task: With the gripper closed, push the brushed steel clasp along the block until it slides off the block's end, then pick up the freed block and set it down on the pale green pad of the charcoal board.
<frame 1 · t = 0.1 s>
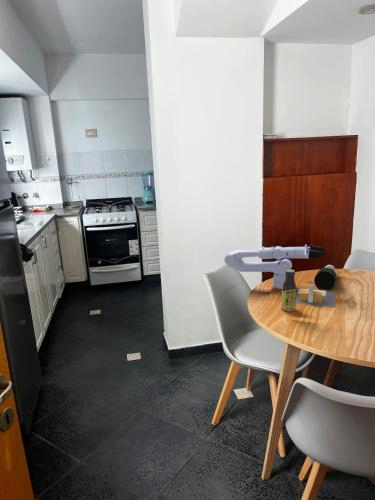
hand: (324, 252, 182), 22 cm above the table, tool horizontal, fingers open, 7 cm apart
block: (310, 300, 176), point 1 cm above the table, touching board
board: (315, 300, 179), on the table
clasp: (311, 292, 175), point 5 cm above the table, slide at 0.0 cm
black and grey cylinder: (327, 281, 203), on the table
sauce bottle: (288, 312, 168), on the table
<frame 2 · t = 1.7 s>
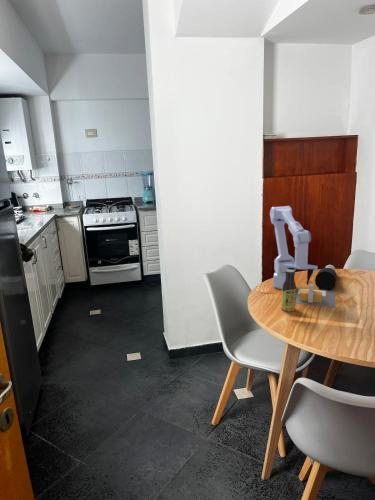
hand: (300, 283, 176), 9 cm above the table, tool pointing down, fingers open, 6 cm apart
nothing on the table moved.
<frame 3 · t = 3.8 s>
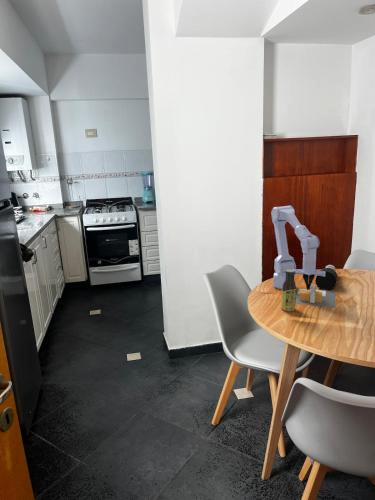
hand: (308, 289, 175), 7 cm above the table, tool pointing down, fingers closed
clasp: (313, 292, 174), point 5 cm above the table, slide at 0.9 cm, touching gripper
everything else where it was.
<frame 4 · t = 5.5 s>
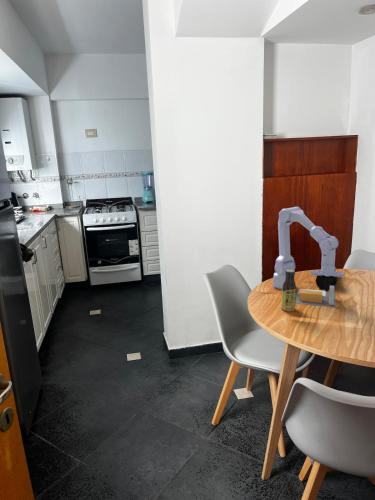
hand: (326, 290, 172), 7 cm above the table, tool pointing down, fingers closed
clasp: (331, 294, 171), point 5 cm above the table, slide at 9.1 cm, touching gripper
everything else where it was.
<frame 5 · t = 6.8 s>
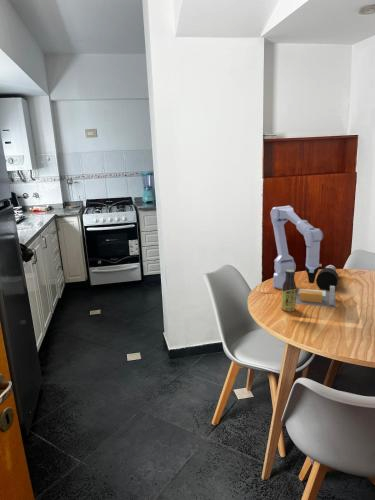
hand: (311, 282, 173), 10 cm above the table, tool pointing down, fingers closed
clasp: (331, 294, 171), point 5 cm above the table, slide at 9.3 cm
everything else where it was.
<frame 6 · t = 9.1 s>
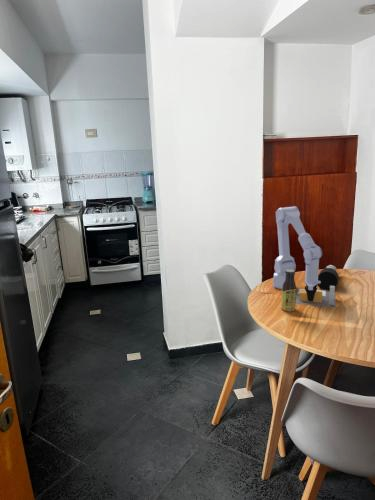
hand: (310, 299, 176), 2 cm above the table, tool pointing down, fingers closed on block, 4 cm apart
block: (310, 300, 176), point 1 cm above the table, touching board, gripper
everything else where it was.
when the fingers open (3 cm above the table, at t = 12.4 s): block stays where it is, resting on board.
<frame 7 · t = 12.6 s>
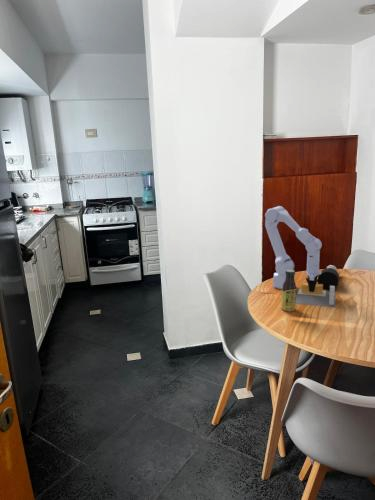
hand: (312, 289, 184), 3 cm above the table, tool pointing down, fingers open, 6 cm apart
block: (311, 292, 185), point 2 cm above the table, touching board
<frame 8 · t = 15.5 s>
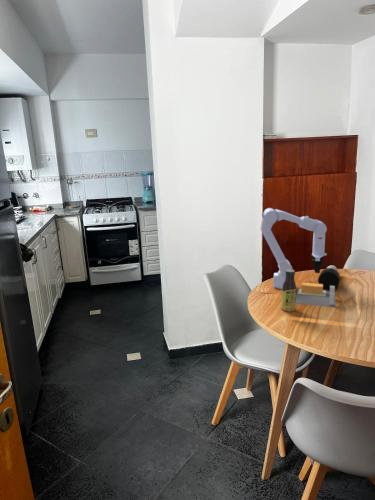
hand: (317, 270, 190), 10 cm above the table, tool pointing down, fingers open, 7 cm apart
at the end: clasp slide at 9.3 cm; block inside the target area (0.0 cm from its centre), point 1.7 cm above the table; the gripper is holding nothing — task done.
